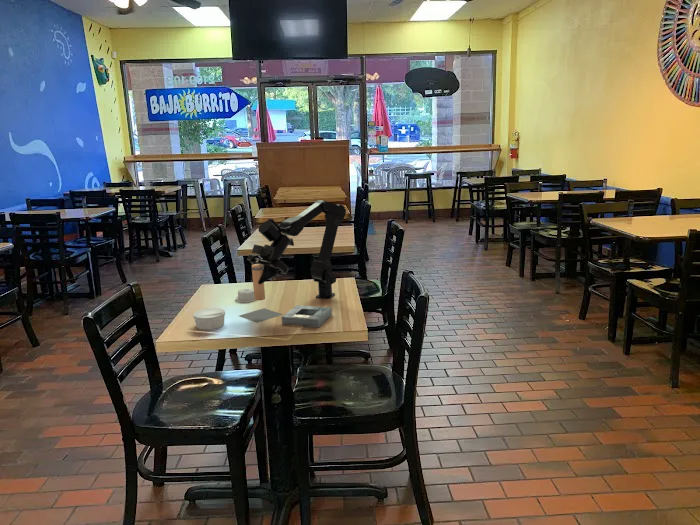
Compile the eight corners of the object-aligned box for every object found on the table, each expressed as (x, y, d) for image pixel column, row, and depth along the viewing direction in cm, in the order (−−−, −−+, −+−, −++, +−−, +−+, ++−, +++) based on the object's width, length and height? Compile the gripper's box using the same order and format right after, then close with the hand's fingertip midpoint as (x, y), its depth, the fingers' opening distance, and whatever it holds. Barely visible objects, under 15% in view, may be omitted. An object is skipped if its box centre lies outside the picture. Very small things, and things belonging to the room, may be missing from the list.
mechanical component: (253, 304, 217) (263, 297, 226) (252, 294, 216) (262, 287, 225) (231, 303, 219) (242, 296, 229) (230, 293, 218) (241, 286, 228)
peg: (257, 297, 202) (254, 263, 199) (267, 297, 201) (264, 264, 198) (252, 300, 198) (249, 266, 195) (262, 300, 197) (259, 266, 194)
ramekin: (209, 334, 185) (208, 319, 183) (187, 328, 191) (186, 314, 189) (232, 324, 194) (231, 310, 192) (211, 319, 200) (210, 306, 198)
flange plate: (297, 312, 204) (296, 304, 203) (331, 315, 200) (331, 307, 199) (282, 324, 191) (281, 316, 190) (318, 327, 187) (318, 319, 186)
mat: (264, 309, 209) (264, 308, 209) (283, 315, 201) (283, 314, 201) (238, 317, 201) (238, 315, 201) (257, 323, 193) (257, 322, 193)
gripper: (249, 233, 203) (226, 267, 198) (279, 238, 191) (256, 274, 185) (267, 250, 211) (246, 283, 205) (297, 256, 198) (276, 291, 193)
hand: (255, 282), depth 197 cm, fingers closed on peg, 4 cm apart
